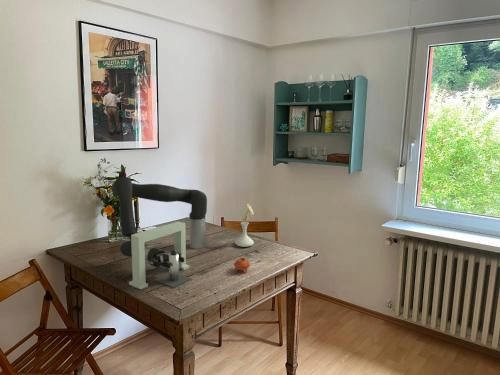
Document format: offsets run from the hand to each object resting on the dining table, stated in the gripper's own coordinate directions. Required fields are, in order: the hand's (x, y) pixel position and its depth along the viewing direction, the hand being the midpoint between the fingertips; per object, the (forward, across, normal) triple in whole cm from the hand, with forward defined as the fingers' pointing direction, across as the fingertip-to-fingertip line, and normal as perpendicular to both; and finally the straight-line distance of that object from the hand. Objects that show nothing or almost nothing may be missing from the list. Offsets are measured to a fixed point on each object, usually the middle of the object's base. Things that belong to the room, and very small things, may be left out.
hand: (176, 262), depth 163 cm
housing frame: (-11, 0, +9) cm, 14 cm away
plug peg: (-2, 0, +8) cm, 9 cm away
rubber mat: (-2, 0, +9) cm, 9 cm away
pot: (+16, +28, +9) cm, 34 cm away
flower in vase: (-5, +60, +9) cm, 61 cm away
